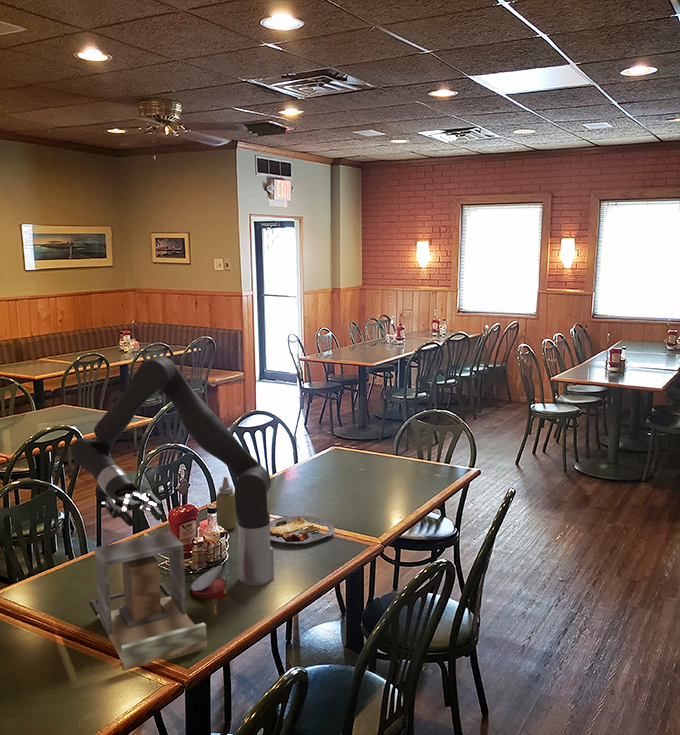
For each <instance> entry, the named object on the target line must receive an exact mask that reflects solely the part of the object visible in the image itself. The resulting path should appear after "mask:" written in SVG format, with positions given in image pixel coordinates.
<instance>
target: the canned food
mask: <svg viewBox="0 0 680 735" xmlns="http://www.w3.org/2000/svg"><path fill="white" fill-rule="evenodd" d="M222 570H223V565H219V566H216V567H214V568H212V569H209V570H208V571H206V572H204V573H203V574H201V576H199V577H197V579H196V580H194V581H193V583H192V584H191V586H190V587H191V594H192V595H193V596H195V597H197V598H202V599H203V598H204V599H208V598H209V599H211V598H216V599H217V601H219V602H220V601H222V600H223V599H225V598H226V597H227V596H228V582H227V581H226V580H225V579H224V578H221V577H218V575H219V573H221V571H222Z"/></svg>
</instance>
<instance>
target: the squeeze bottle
mask: <svg viewBox="0 0 680 735" xmlns="http://www.w3.org/2000/svg"><path fill="white" fill-rule="evenodd" d="M233 489H234V488H233V486H232V485H230V483H229V478H228V477H227V476H224V477H223V480H222V485H221V486H220V487H219V488H218V493H217V495H216V503H215V510H216V509H217V521H216V523H217V522H218V524H217V526H218V525H219V526H221V527H222V528H224V529H225V530H226V531H227V530H232V529H235V528H236V527H237V525H238V519H237V516H236V510H235V491H234V490H233ZM219 526H218V527H219ZM225 530H224V531H225Z"/></svg>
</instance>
